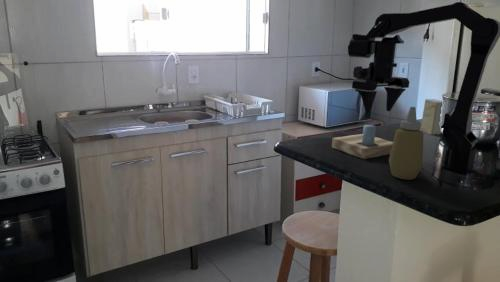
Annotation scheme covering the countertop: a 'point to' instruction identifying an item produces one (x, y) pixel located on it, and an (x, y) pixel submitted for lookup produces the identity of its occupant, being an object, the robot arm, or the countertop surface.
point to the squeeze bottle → (407, 148)
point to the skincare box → (431, 117)
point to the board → (357, 149)
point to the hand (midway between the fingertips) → (378, 112)
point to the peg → (368, 135)
